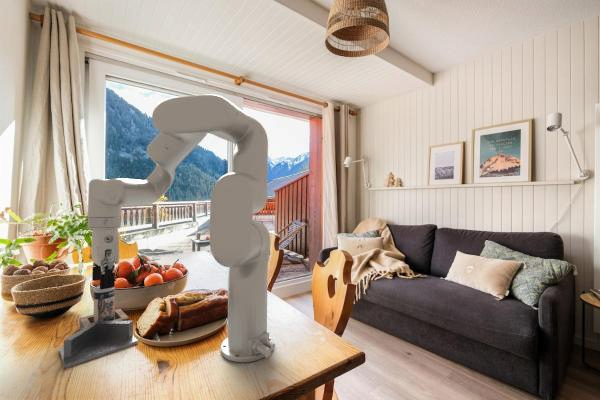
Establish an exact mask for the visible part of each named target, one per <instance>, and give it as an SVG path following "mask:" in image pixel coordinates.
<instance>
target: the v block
mask: <svg viewBox="0 0 600 400" xmlns="http://www.w3.org/2000/svg"><path fill="white" fill-rule="evenodd" d="M133 322H134V320H129V321H97V322H93V323H92V324H89V325H88V326H86V327H85V328H83V329H81V330H80V329H79V330H78V331H77V332H75V333H73V334H72V335H71V336H69V337H67V338H65V339H64V340H63V347H59V349H58V352H59V356H60V359H61V362H62V365H63V369H64V370H66V369H68V368H69V369H70V368H72V367H74V366H77V365H80V364H83V363H86V362H88V361H92V360H94V359H97V358H100V357H103V356H107V355H108V354H112V353H115V352H118V351H121V350H124V349H126V348H129V347H132V346H135V345H138V344H139V340H138V339H137V337H135V336H134V333H133V332H134V331H133V330H134V323H133Z"/></svg>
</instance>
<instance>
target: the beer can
mask: <svg viewBox="0 0 600 400" xmlns="http://www.w3.org/2000/svg"><path fill="white" fill-rule="evenodd" d="M115 302H116V288H115V286H114V287H113V288H107V289H102V290H101V289H100V284H99V285H97V286H95V288H94V290H93V315H94V322H97V321H112V320H115V309H116V303H115Z"/></svg>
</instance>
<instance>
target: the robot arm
mask: <svg viewBox="0 0 600 400" xmlns="http://www.w3.org/2000/svg"><path fill="white" fill-rule="evenodd" d="M151 120H152V123H153V126H154V127H155V129H156V130H158V132H159V133H158V134H157V135H156V136H155V137H154V138H153V139H152V140H151V142H149V143H148V145H147V146H146V152H147V155H148V156H149V158H150V159H151V160H152V161H153V162H154V163H155V164H156V165H155V168H154V169H153V171H152V172H151V173H150V174H149V175H148V176H147V177H146V178H145V179H137V178H136V179H135V178H123V177H121V178H117V177H116V178H115V177H114V178H111V179H108V178H107V179H106V178H94V179H91V180H90V181H89V182H88V194H87V195H88V199H87V200H88V201H87V230H91V250H90V251H91V261H92V262H93V263H92V276H91V280H92V281H93V282H95V281H99V285H100V289H101V290H102V289H107V288H113V287H115V285H116V283H115V280H116V270H115V269H116V267H115V266H116V265H118V264H119V263H120V239H119V229H121V227H122V225H121V223H122V222H121V221H122V207H137V206H138V207H141V206H143V207H144V206H150V205H153V204H155V203H156V202H157V201H158V200H160V199H161V198H162V197H163V195H165V194H166V192H168V191H169V189H170V188H171V187H172V185H173V183H174V178H175V176H176V169H177V167H178V166H179V164H181V162H182V161H183V160H184V159H186V157H187V156H188V155H190V153H192V151H193V150H194V149H195V148H196V147H197V146H198V145H199V144H200V143H201V142H202V141H203V139H205V137H206V136H207V135H208V134H210V135H213V136H215V137H217V138H220V139H223V140H224V141H227V142H230V143H232V144H234V145H235V149H234V152H233V156H232V172H229V173H225V174H224V175H221V176H220V177H219V178H218V180H217V181H216V182H215V184H214V185H213V187H212V190H211V195H210V203H209V204H210V207H209V210H210V211H209V249H210V253H211V255H212V256H213V259H214V260H215V262H217V264H219V265H220V266H221V267H224V268H228V269H229V270H228V278H227V279H228V281H227V282H228V283H227V286H228V287H227V288H228V289H227V338H225V339H224V340H223V341H222V343H221V346H220V352H221V354H222V356H223V357H224V358H225V359H226V360H228V361H231V362H235V363H250V362H255V361H259V360H261V359H263V358H265V359H267V358H269V357H270V356H271V355H272V351H273V350H274V349H275V348H276V344H275V343H274V340H273V338H272V337H271V335H270V332H269V331H268V283H269V282H268V277H269V275H268V274H269V273H268V272H269V259H270V252H271V251H270V250H271V235H270V232H269V230H268V227H267V226H266V225H265V224H264V223H262V222H261V221H259V220H255V219H253V215H255V214H257V213H259V212H261V211H263V209H264V208H265V207H266V205H267V201H268V169H269V167H268V163H269V162H268V158H269V155H268V154H269V140H268V139H269V138H268V135H267V131H266V129H265V128H264V126H263V125H262V123H260V122H259V121H258V120H257V119H255V117H253V116H251V115H249V114H248V113H246V112H245V111H244V110H242V109H241V108H240V107H238V106H237V105H235V104H234V103H233V102H231V101H230V100H228V99H227V98H225V97H223V96H222V95H219V94H211V93H210V94H207V93H206V94H196V95H184V96H175V97H169V98H166V99H164V100H162V101H160V102H159V103H158V104H157V105H156V106H155V107H154V109H153V111H152V116H151ZM115 264H116V265H115Z"/></svg>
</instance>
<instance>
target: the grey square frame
mask: <svg viewBox="0 0 600 400" xmlns="http://www.w3.org/2000/svg"><path fill="white" fill-rule="evenodd" d="M112 321H130V317H129V316H128V315H127V314H126V313H125V312H124V311H123V310H122V308H120V309H119V308H115V320H112ZM93 322H94V314H91V315H88V316H84V317H79V325H78V327H79V331H80V330H81V329H83V328H85V327H86V326H88V325H89V324H92V323H93Z"/></svg>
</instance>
